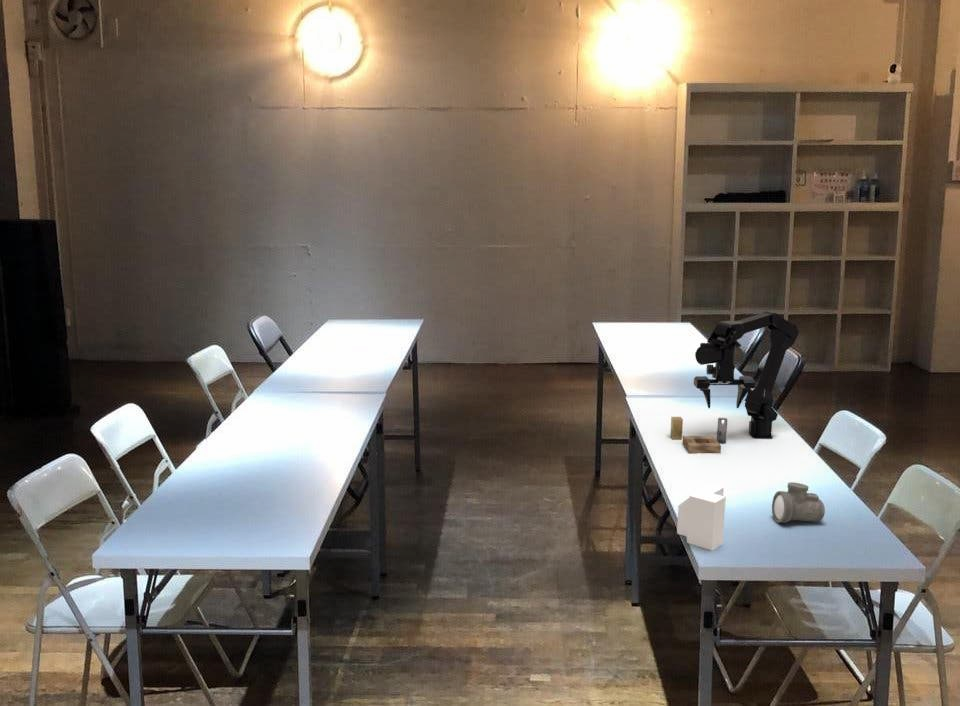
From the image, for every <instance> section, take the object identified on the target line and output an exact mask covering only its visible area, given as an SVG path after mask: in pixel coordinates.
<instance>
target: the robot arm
mask: <svg viewBox="0 0 960 706" xmlns="http://www.w3.org/2000/svg"><path fill="white" fill-rule="evenodd" d="M765 327H766V329H767V330H769V331H770V333H769V342H770V349H769V352H768V355H767V357H766V360H765V363H764V366H763V368H762V370H761V371H762V372H761V373H760V376H759V379H758V382H757V381H756V380H755V379H754V377H752V376H750V375H741V376H739V378H735V370H736V365H735V364H736V363H735V362H736V360H735V359H736V348H740V347H741V346H742V344H740V342H739V341H738V340H740V339H742V338H743V337H744V335H745V334H747V333H752V332H753V331H757V330H760V329H763V328H765ZM798 336H799V328H798V326H797V325H796V324H794V323H791V322H790V321H788V320H787V319H785V318H783V317H782V316H780V314H779V313H778V312H774V311H769V310H768V311H767V310H766V311H763V312H762V313H759V314H756V315H753V316H748V317H746V318H742V319H740V320H725V321H724V320H722V321H719V322H717V323H716V326H715V327H714V329H713V330H712V333H711V334H710V336H709V337H708V339H707V340H706V341H707V342H701V343H700V345H699V346H698V348H697V349H696V350H695V352H694V353H695V354H694V355H695V360H696V362H697V363H698V364H699V365H702V366H704V365H706V368H705V369H706V370H705V371H706V375H709V376H710V375H711V377H712V378H711V379H710V378H709V377H707V376H704V375H703V376H701V375H700V376H695V377H694V378H693V385H694V386H695V388H696V389H699V391H700V392H702V393H703V395H704V398H705V402H706V405H707V408H708V409H711V389H710V388H709V387H710V386H737V395H736V404H735V405H736V409H739V407H740V406H741V404H742V402H743V400H744V401H745V403H744V407H745V409H746V414H747V417H750V420H749V422H748V434H749V435H750V436H751V437H752V438H753V439H773V435H772V431H773V430H772V429H773V428H772V427H773V422H774V421H776V420H777V418H778V413H777V411H776V409H774V408H773V404H774V397H773V389H774V386H775V383H776V380H777V378H778V375H779V372H780V369H781V366H782V363H783V362H784V358H785V354H786V352H787V351H788V350H789V349H790V348H791V347H792V346H794V344H795V342H796V340H797V338H798ZM714 364H715V366H714ZM756 382H757V383H756ZM756 384H757V385H756ZM744 398H745V399H744Z"/></svg>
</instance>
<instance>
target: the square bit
mask: <svg viewBox="0 0 960 706" xmlns="http://www.w3.org/2000/svg"><path fill="white" fill-rule="evenodd" d="M670 417H671V418H670V419H671V420H670V432H669V433H670V436H669V437H670V439H671V440H673V441H675V440H676V441H683V423H684V419H683V417H682V416H670Z"/></svg>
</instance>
